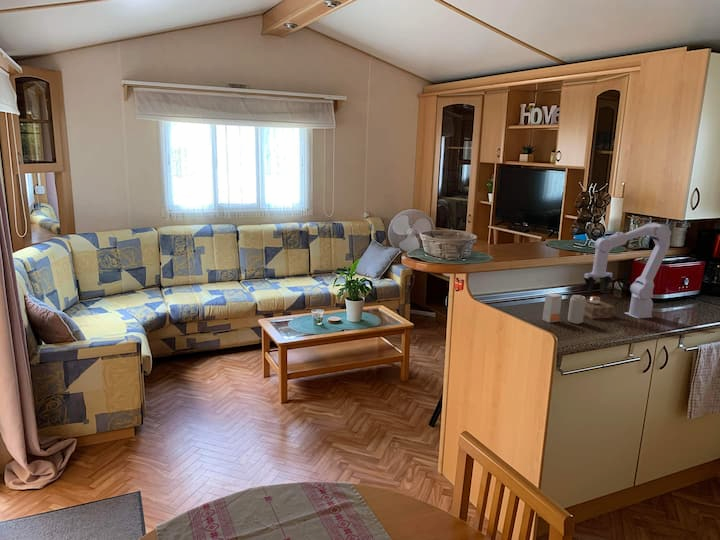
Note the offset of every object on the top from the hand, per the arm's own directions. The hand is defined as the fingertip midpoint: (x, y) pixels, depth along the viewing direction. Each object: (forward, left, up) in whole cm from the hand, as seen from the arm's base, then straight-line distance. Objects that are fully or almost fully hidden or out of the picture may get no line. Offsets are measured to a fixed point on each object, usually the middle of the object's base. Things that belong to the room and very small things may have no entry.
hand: (595, 292), depth 258 cm
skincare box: (+28, +5, -11) cm, 30 cm away
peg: (0, 0, -6) cm, 6 cm away
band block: (0, 0, -10) cm, 10 cm away
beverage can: (+18, +9, -11) cm, 23 cm away
